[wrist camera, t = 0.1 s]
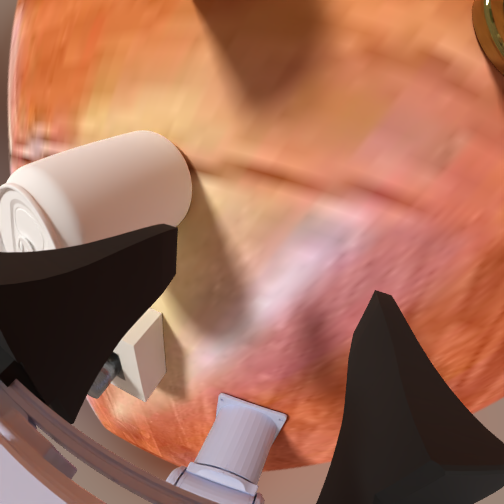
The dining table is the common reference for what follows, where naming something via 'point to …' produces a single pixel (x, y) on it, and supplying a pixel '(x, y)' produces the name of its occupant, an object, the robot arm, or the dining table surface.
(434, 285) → the dining table surface
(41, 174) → the beverage can
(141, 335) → the bore block
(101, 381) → the peg
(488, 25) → the olive green tiered piece
